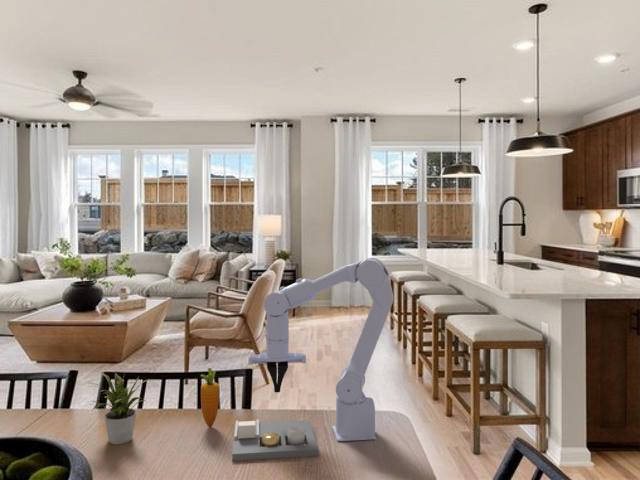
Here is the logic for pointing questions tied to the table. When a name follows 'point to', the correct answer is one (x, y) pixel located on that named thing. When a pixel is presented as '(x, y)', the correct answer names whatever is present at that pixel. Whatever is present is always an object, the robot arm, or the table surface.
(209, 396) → the carrot
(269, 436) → the brass button
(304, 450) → the control panel
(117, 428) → the house plant
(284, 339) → the robot arm
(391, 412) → the table surface
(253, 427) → the white block
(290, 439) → the white button
